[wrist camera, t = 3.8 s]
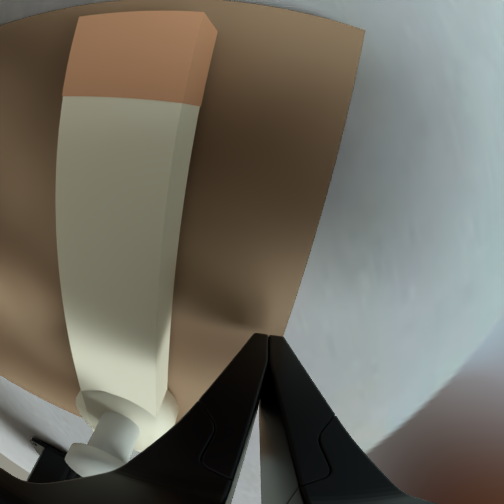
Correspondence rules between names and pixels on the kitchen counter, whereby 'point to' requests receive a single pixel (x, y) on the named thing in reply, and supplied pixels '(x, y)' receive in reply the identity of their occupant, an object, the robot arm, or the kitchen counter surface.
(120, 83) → the bar
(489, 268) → the kitchen counter surface
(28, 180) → the base plate
